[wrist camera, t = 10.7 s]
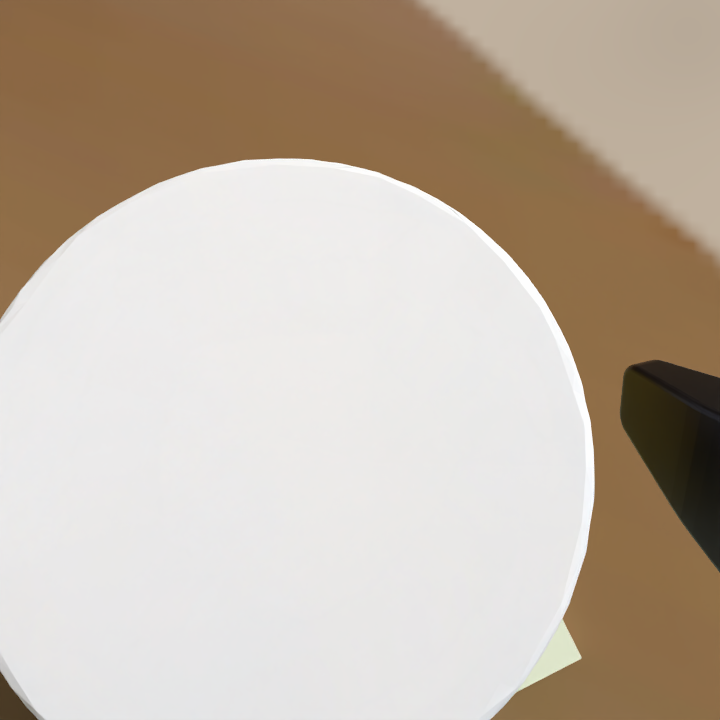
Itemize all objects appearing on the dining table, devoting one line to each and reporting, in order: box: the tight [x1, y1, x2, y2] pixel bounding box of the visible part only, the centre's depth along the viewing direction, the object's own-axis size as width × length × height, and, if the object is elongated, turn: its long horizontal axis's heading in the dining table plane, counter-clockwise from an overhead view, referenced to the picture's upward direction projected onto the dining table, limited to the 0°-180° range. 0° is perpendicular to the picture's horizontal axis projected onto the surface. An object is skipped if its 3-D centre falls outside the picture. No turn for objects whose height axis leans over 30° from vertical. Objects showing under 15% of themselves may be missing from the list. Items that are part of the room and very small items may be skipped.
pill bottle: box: [0, 159, 594, 720], centre depth 10 cm, size 6×6×12 cm
